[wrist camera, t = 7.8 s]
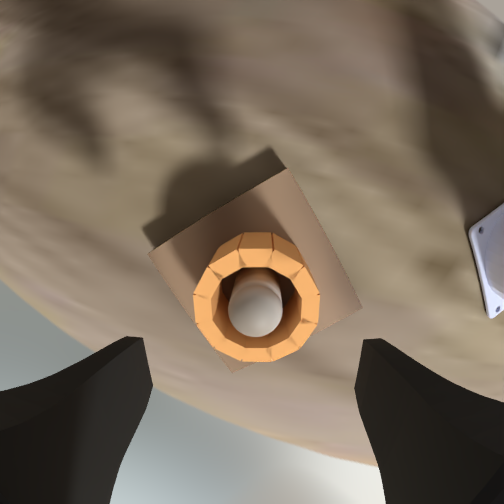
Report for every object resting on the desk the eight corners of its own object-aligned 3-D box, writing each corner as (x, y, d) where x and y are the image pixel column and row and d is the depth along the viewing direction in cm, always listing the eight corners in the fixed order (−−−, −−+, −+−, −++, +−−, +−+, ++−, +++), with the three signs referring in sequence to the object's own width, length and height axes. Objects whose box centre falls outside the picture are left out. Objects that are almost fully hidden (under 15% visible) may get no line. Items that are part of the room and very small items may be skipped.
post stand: (286, 168, 17) (297, 166, 11) (356, 297, 19) (390, 349, 13) (156, 247, 18) (110, 282, 12) (234, 360, 20) (223, 424, 14)
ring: (277, 212, 16) (280, 224, 13) (326, 299, 17) (339, 328, 14) (188, 264, 17) (170, 287, 14) (241, 342, 18) (236, 377, 15)
